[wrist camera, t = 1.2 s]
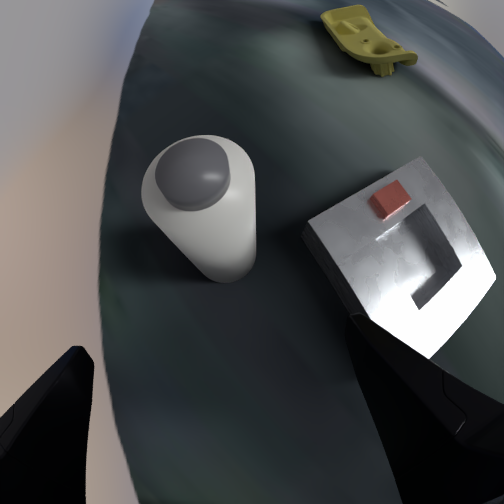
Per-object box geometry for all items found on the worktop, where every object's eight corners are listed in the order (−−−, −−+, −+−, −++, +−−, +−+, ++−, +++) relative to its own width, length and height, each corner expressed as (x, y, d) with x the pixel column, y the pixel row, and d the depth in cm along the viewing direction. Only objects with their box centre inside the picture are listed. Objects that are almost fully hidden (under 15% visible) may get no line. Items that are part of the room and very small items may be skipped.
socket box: (474, 284, 21) (501, 276, 17) (384, 374, 19) (410, 382, 15) (406, 173, 24) (424, 151, 20) (300, 236, 22) (309, 216, 18)
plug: (267, 263, 22) (279, 184, 10) (213, 294, 21) (158, 250, 9) (236, 213, 23) (218, 106, 11) (185, 242, 22) (120, 157, 10)
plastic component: (317, 13, 31) (368, 2, 27) (330, 43, 37) (377, 33, 33) (354, 63, 24) (425, 51, 20) (365, 103, 31) (427, 92, 26)
